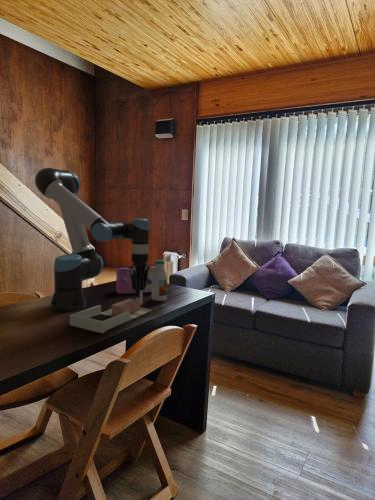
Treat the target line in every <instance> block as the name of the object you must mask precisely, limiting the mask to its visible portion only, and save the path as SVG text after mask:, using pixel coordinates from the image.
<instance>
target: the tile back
mask: <svg viewBox="0 0 375 500" xmlns="http://www.w3.org/2000/svg"><path fill="white" fill-rule="evenodd" d="M121 302H124V303H129V304H132V313H133V312H135V311H138V310H140V309H141V308H142V307H141V305H142V304H141V301H140V300H136V299H135V298H134V299H133V298H128V299H124V300H122V301H121Z"/></svg>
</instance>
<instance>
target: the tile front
mask: <svg viewBox="0 0 375 500" xmlns="http://www.w3.org/2000/svg"><path fill="white" fill-rule="evenodd" d="M111 309H112V314H113V315H119V314H122V313H124V312H127V311H129V312H130V313H132V304H129V303H124V302H122V301H119V302H116V303H112V304H111Z"/></svg>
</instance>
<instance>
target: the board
mask: <svg viewBox="0 0 375 500" xmlns="http://www.w3.org/2000/svg"><path fill="white" fill-rule="evenodd" d="M152 311H153V309H150V308H145V307H141V309H140V310H138V311H135V312H133V313H130V320H129V321H131V320H133V319H135V318H138V317H140V316H142V315H144V314H147V313H149V312H152ZM100 315H104V316H110V317H114V316H117V315H113V314H112V308H110V309H107V310H105V311H101V314H100Z"/></svg>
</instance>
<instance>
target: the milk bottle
mask: <svg viewBox="0 0 375 500" xmlns="http://www.w3.org/2000/svg"><path fill="white" fill-rule="evenodd" d="M165 262H166V261H165V260H163V259H156V260H155V265H156V267H155V270H154V272H153V275H152V292H151V295H150V298H151V300H152V301H158V302H164V301H167V298H168V275H167V272H166V269H165Z"/></svg>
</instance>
